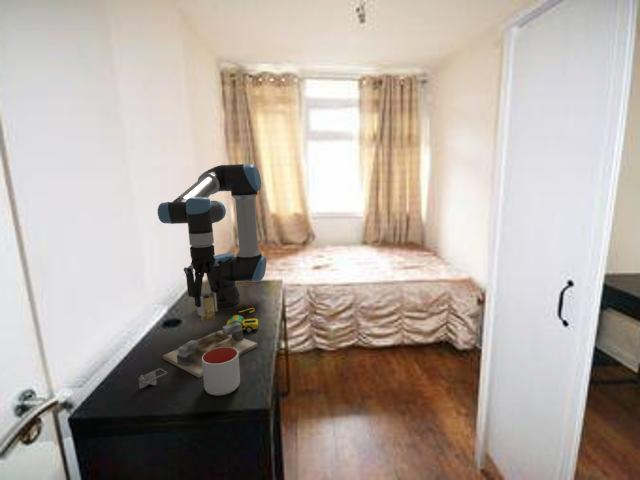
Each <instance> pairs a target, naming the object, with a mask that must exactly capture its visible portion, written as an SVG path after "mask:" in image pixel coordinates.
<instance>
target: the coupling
mask: <svg viewBox="0 0 640 480" xmlns="http://www.w3.org/2000/svg"><path fill="white" fill-rule="evenodd" d="M201 297H203V300H204V312H205V316H200V318H201V321H202V322H204V323H209V322H212V321H214V320H216V312H215V310H214V299H213V295H212V293H209V292H208V293H206V292H201Z"/></svg>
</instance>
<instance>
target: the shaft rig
mask: <svg viewBox="0 0 640 480" xmlns="http://www.w3.org/2000/svg"><path fill="white" fill-rule="evenodd" d="M219 347H231V348H234V349H236V350H237V351H238V356H239V357H240V356H242V355H244V354H245V353H247V352H249V351H251V350H253V349H255V348H257V347H258V343H257V342H255V341H253V340H250V339H246V338H244V332H243V330H242V327H241V324H240V323H239V322H237V323H233V324H230V325H227V324H226V325H224V326H222V329H219V330H217V331H214V332H213V333H210V334H209V335H206V336H203V337H201V338H198V339H197V340H192V339H191V340H190V341H187V342H186V343H184V344H183V345H181V346H179V347H178V348H177V349H174V350H172V351H170V352H168V353H165V354H163V355H162V359H163V360H164V361H167V362H168V363H170V364H172V365H174V366H176V367H178V368H179V369H182V370H184V371H185V372H187V373H190V375H193V376H194V377H197V378H202V377H203V368H202V356H203V355H204V354H205V353H206V352H208V351H209V350H212V349H215V348H219Z"/></svg>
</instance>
